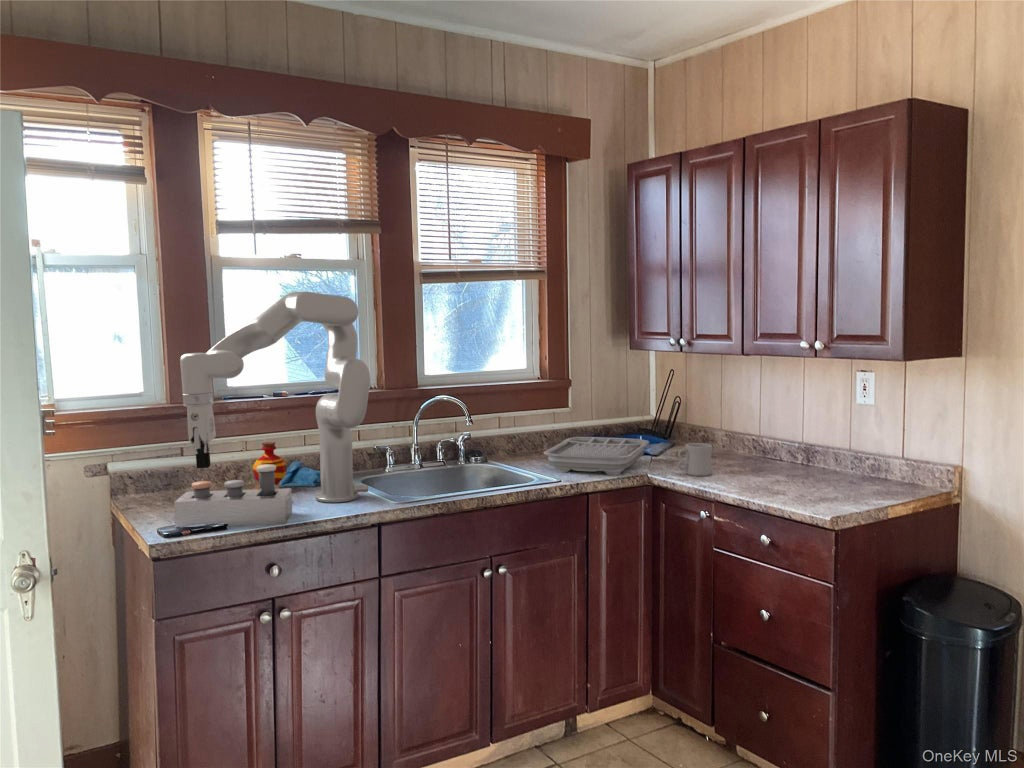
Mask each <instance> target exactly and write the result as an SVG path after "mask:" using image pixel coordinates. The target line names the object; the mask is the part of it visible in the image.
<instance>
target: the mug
mask: <svg viewBox="0 0 1024 768" xmlns="http://www.w3.org/2000/svg"><path fill="white" fill-rule="evenodd" d="M682 452H685V465H684V466H681V464H682V463H683V462H684V457H683V456H682V455H681V453H682ZM712 452H713V445H712V444H710V443H703V442H690V443H686V444H685V445H684V448H681V449H679V450H678V451H677V457H678V458H679V459H680V460H679V461H678V462H677V467H678V469H679V470H681V471H684V472H685V475H688V476H694V477H706V476H711V475H712V474H713V464H712Z"/></svg>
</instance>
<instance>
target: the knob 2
mask: <svg viewBox="0 0 1024 768" xmlns="http://www.w3.org/2000/svg"><path fill="white" fill-rule="evenodd" d="M274 470H276V465H260V466H257V471H259V482H258V485H259V490H260V496H273V495H275V478H274Z"/></svg>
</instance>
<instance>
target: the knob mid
mask: <svg viewBox="0 0 1024 768" xmlns="http://www.w3.org/2000/svg"><path fill="white" fill-rule="evenodd" d="M244 486H245V480H243V479H237V480H236V479H232V480H228V481H225V482H224V487H225V488H226V490H227V497H243V490H244V489H243V487H244Z"/></svg>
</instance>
